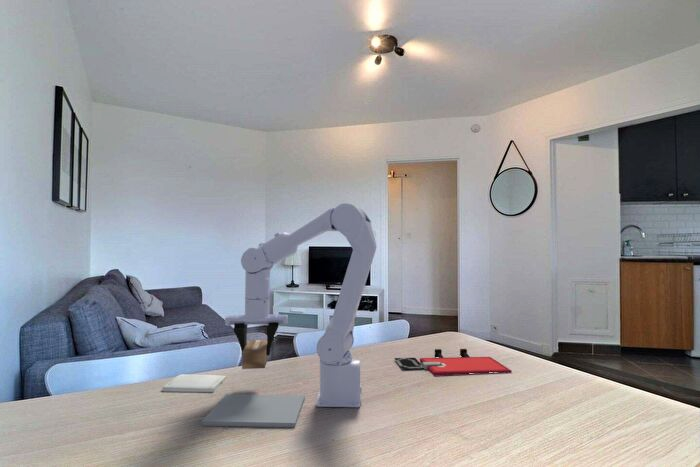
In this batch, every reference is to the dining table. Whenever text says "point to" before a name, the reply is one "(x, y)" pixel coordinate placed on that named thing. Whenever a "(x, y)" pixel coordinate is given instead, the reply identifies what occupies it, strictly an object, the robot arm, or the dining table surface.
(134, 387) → the dining table surface
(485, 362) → the red board with handle
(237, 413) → the rubber mat
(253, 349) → the taped cardboard box
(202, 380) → the hard drive
